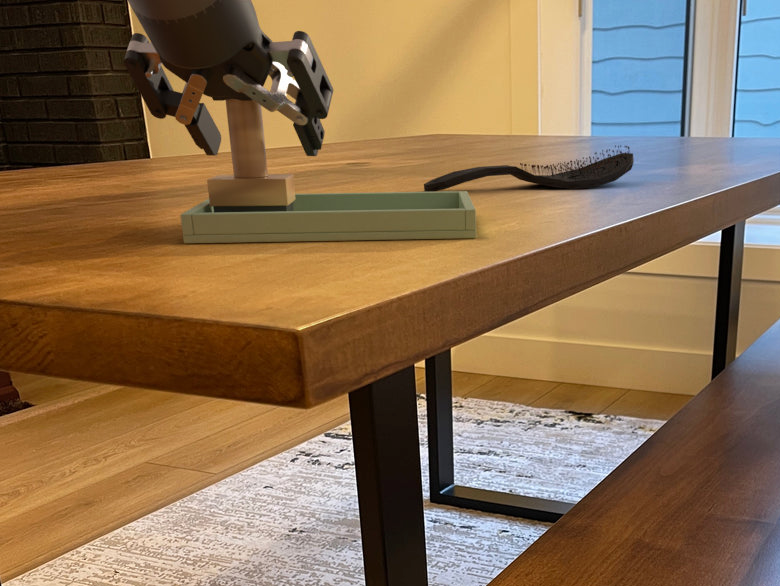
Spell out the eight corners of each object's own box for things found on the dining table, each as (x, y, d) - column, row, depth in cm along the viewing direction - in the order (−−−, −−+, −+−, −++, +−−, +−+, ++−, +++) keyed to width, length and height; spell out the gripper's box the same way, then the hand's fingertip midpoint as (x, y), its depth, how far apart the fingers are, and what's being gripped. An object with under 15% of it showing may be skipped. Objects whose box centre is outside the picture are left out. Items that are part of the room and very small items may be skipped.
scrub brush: (212, 226, 78) (194, 79, 73) (223, 220, 81) (206, 79, 77) (290, 225, 78) (276, 79, 74) (297, 219, 82) (285, 79, 77)
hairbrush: (410, 161, 108) (611, 142, 117) (413, 197, 110) (611, 175, 119) (437, 167, 101) (649, 147, 110) (440, 205, 103) (648, 182, 112)
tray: (183, 243, 74) (179, 214, 73) (217, 220, 86) (214, 194, 85) (476, 238, 75) (475, 209, 74) (467, 216, 88) (467, 191, 87)
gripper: (291, -70, 66) (357, 111, 81) (94, -65, 68) (193, 111, 83) (267, 15, 63) (340, 186, 78) (63, 17, 66) (171, 184, 81)
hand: (264, 147), depth 81 cm, fingers open, 8 cm apart
